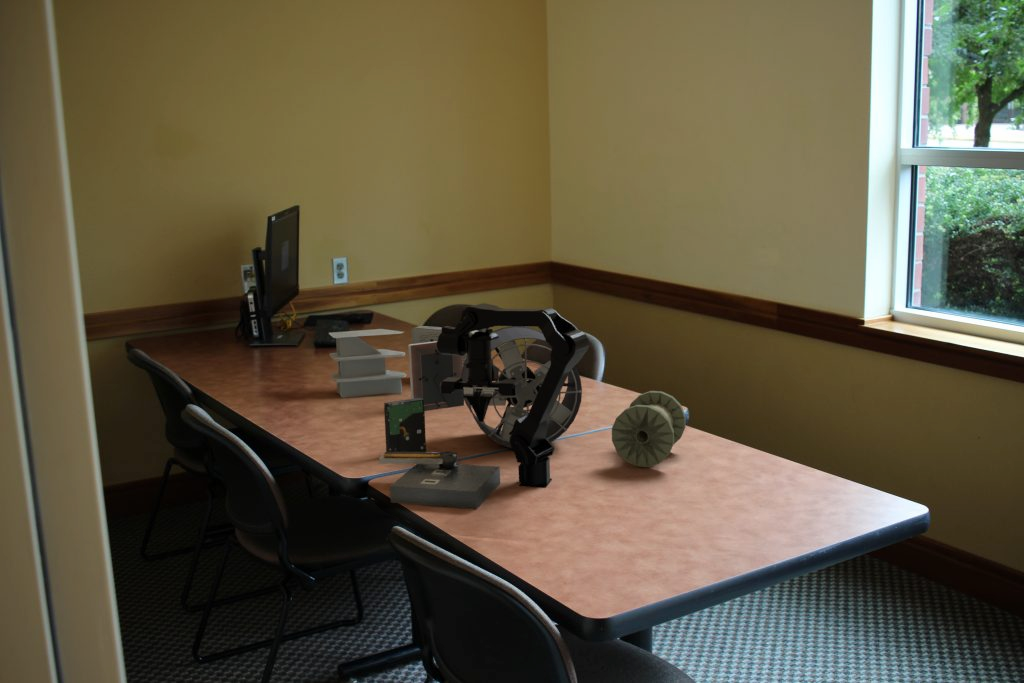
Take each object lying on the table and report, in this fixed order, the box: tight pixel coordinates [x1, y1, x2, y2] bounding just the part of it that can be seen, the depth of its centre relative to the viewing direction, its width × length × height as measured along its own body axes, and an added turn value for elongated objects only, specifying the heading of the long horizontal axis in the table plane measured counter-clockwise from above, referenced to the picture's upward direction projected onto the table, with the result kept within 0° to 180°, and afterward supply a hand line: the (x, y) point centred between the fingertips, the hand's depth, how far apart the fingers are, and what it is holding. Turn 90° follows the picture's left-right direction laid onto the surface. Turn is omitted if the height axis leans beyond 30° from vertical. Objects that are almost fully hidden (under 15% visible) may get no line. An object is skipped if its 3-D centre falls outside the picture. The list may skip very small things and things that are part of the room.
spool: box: [611, 390, 687, 468], centre depth 248 cm, size 16×15×15 cm
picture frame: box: [407, 341, 465, 412], centre depth 298 cm, size 16×2×22 cm, turn 119°
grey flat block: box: [389, 463, 501, 510], centre depth 226 cm, size 20×18×4 cm
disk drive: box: [383, 398, 427, 452], centre depth 254 cm, size 10×3×15 cm, turn 119°
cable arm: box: [378, 450, 459, 468], centre depth 234 cm, size 4×18×3 cm, turn 83°
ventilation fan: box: [461, 326, 583, 449], centre depth 263 cm, size 30×18×30 cm, turn 99°
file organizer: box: [328, 328, 407, 399], centre depth 318 cm, size 26×35×22 cm
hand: (481, 421), depth 237 cm, fingers closed
